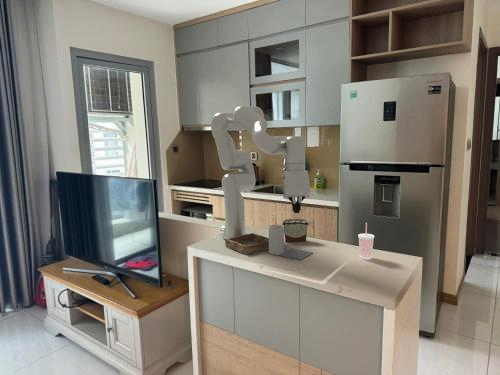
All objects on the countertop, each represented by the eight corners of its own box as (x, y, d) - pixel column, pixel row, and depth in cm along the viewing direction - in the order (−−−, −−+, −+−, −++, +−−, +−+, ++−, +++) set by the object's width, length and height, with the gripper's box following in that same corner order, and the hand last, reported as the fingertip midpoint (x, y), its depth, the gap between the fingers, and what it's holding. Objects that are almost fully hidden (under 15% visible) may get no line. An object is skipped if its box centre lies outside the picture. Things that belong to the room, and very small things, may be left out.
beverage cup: (362, 254, 145) (362, 220, 143) (376, 257, 141) (377, 222, 139) (354, 257, 141) (355, 223, 139) (369, 261, 137) (369, 225, 135)
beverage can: (273, 257, 145) (273, 228, 144) (266, 252, 151) (265, 225, 149) (286, 255, 148) (286, 226, 146) (279, 250, 153) (279, 223, 152)
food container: (308, 238, 169) (308, 218, 168) (309, 242, 163) (309, 221, 162) (282, 238, 170) (282, 218, 169) (282, 242, 164) (281, 221, 163)
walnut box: (225, 246, 160) (225, 239, 159) (252, 240, 169) (252, 233, 169) (246, 255, 147) (246, 246, 147) (274, 247, 157) (274, 239, 156)
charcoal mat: (279, 255, 145) (279, 254, 145) (291, 249, 153) (291, 248, 153) (301, 260, 140) (301, 259, 140) (312, 253, 148) (312, 252, 148)
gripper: (279, 168, 137) (280, 215, 139) (317, 167, 139) (317, 213, 142) (275, 167, 144) (276, 212, 147) (310, 166, 147) (311, 209, 149)
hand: (296, 212), depth 144 cm, fingers closed
